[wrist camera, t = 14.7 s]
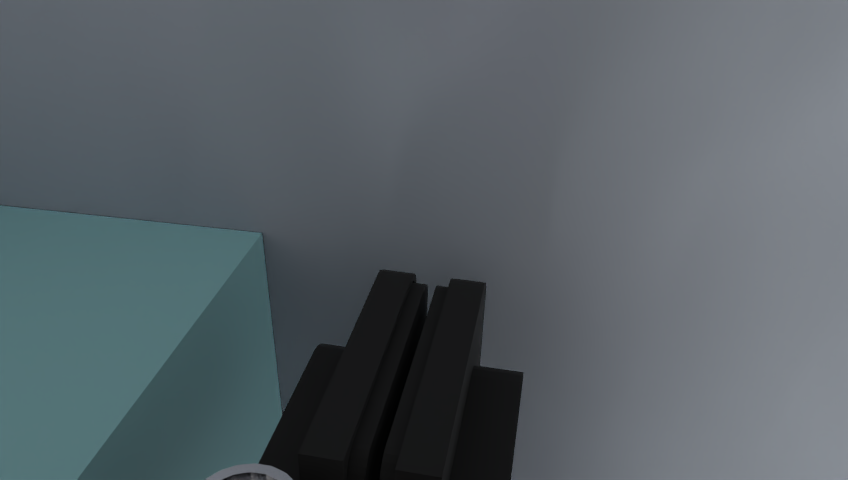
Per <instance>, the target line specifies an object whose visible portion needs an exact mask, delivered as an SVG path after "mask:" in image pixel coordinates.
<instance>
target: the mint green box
mask: <svg viewBox="0 0 848 480" xmlns="http://www.w3.org/2000/svg"><path fill="white" fill-rule="evenodd" d="M281 417H282V408H281V399H280V390H279V381H278V372H277V363H276V354H275V345H274V336H273V327H272V318H271V309H270V300H269V291H268V282H267V272H266V263H265V254H264V245H263V236H262V233H258V232H249V231H239V230H230V229H220V228H211V227H201V226H192V225H182V224H173V223H163V222H154V221H144V220H135V219H125V218H116V217H106V216H97V215H87V214H78V213H68V212H59V211H49V210H40V209H30V208H21V207H11V206H2V205H0V480H205V479H206V478H208V477H210V476H211V475H213V474H215V473H217V472H218V471H220V470H223V469H226V468H229V467H232V466H235V465H241V464H253V463H256V464H258V463H259V461H260V459H261V457H262V455H263V453H264V451H265V449H266V447H267V445H268V443H269V441H270V439H271V437H272V435H273V433H274V431H275V429H276V427H277V425H278V423H279V421H280V419H281Z"/></svg>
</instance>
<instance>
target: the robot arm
mask: <svg viewBox="0 0 848 480" xmlns="http://www.w3.org/2000/svg"><path fill="white" fill-rule="evenodd" d="M485 295H486V283H483V282H476V281H468V280H460V279H451V281H450V283H449V287H442V286H437V287H436V289H435V292H434V295H433V298H432V301H431V305H430V308H429V311H428V314H427V299H428V287H427V284H419V283H416V275H415V274H413V273H405V272H397V271H389V270H380V271H379V273H378V275H377V277H376V280H375V282H374V284H373V286H372V289H371V291H370V293H369V295H368V298H367V300H366V302H365V304H364V306H363V309H362V311H361V313H360V315H359V318H358V320H357V322H356V324H355V327H354V329H353V331H352V333H351V336H350V338H349V340H348V342H347V345H346V347H342V346H335V345H328V344H320V345H318V346H317V348H316V349H315V351H314V352H313V354H312V356H311V358H310V360H309V362H308V365H307V367H306V369H305V371H304V373H303V375H302V377H301V379H300V381H299V383H298V385H297V387H296V389H295V391H294V393H293V395H292V397H291V399H290V401H289V403H288V405H287V407H286V409H285V411H284V413H283V415H282V417H281V419H280V421H279V423H278V425H277V427H276V429H275V431H274V433H273V435H272V437H271V439H270V441H269V443H268V445H267V447H266V449H265V451H264V453H263V455H262V457H261V459H260V461H259V463H258V464H256V463H253V464H241V465H235V466H232V467H229V468H226V469H223V470H220V471H218V472H217V473H215V474H213V475H211V476H210V477H208V478H206V479H205V480H511V472H512V464H513V456H514V448H515V439H516V431H517V423H518V414H519V406H520V398H521V389H522V381H523V372H516V371H509V370H502V369H495V368H488V367H481V366H480V356H481V344H482V332H483V319H484V307H485Z"/></svg>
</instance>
